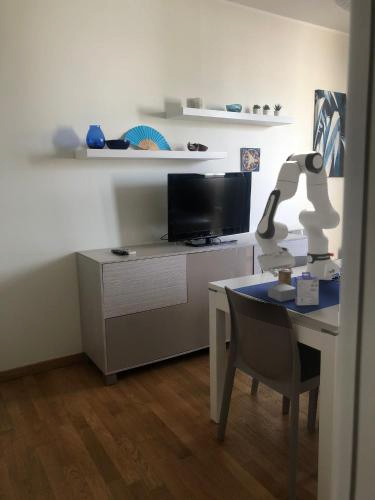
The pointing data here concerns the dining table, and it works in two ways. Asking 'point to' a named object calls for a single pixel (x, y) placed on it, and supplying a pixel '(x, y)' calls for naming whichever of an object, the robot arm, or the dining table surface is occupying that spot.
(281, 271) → the brown cylinder
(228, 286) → the dining table surface
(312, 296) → the ink cartridge box
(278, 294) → the white square block
